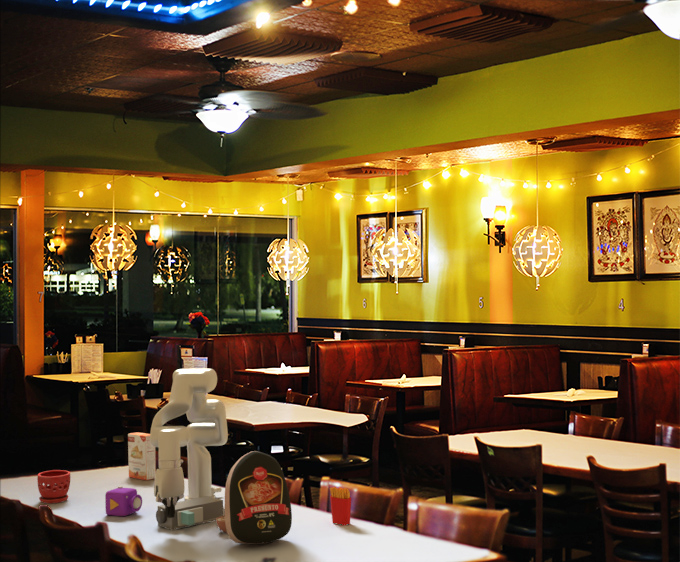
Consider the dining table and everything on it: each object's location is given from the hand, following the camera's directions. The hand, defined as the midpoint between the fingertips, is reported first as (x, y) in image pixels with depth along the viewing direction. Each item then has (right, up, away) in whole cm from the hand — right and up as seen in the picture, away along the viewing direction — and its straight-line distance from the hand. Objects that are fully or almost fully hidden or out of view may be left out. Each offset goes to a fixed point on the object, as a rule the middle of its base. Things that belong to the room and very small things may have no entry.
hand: (170, 516), depth 301 cm
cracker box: (-34, -10, +103) cm, 109 cm away
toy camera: (-24, -8, +31) cm, 40 cm away
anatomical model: (+26, -6, +6) cm, 27 cm away
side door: (+7, -5, +7) cm, 11 cm away
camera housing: (+4, -6, +16) cm, 18 cm away
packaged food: (+32, -5, -14) cm, 35 cm away
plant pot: (-60, -9, +57) cm, 83 cm away
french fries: (+60, -5, +10) cm, 61 cm away
